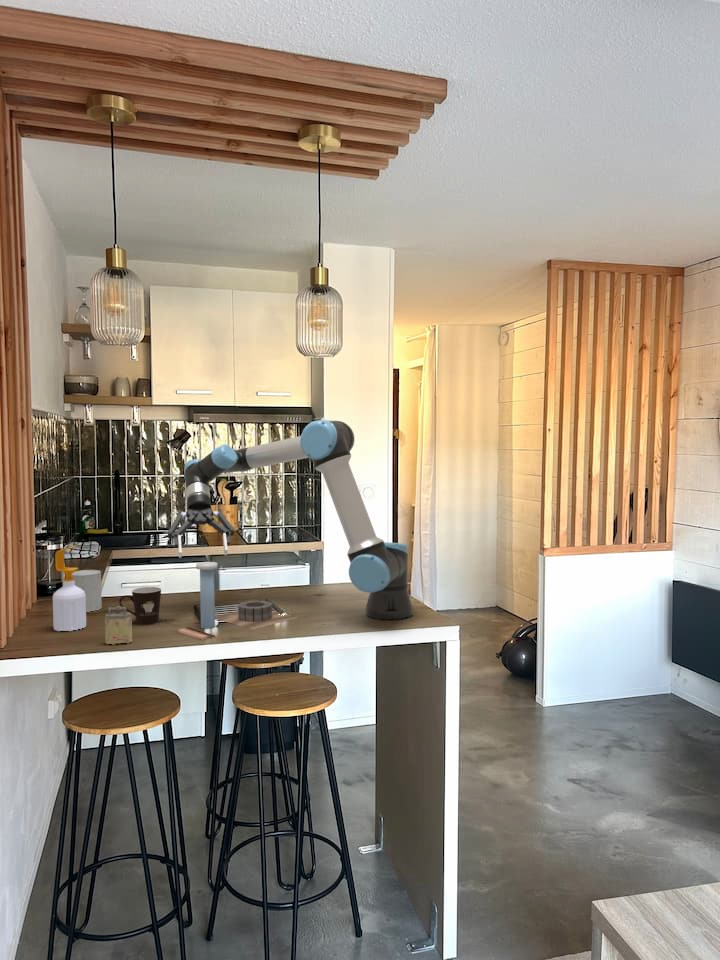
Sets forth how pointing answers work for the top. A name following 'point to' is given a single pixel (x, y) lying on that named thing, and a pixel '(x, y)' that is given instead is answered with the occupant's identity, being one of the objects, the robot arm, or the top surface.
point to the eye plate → (255, 624)
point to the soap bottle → (68, 600)
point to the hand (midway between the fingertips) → (203, 553)
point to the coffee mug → (145, 604)
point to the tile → (195, 633)
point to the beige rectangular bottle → (118, 626)
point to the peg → (207, 593)
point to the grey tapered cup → (90, 587)
